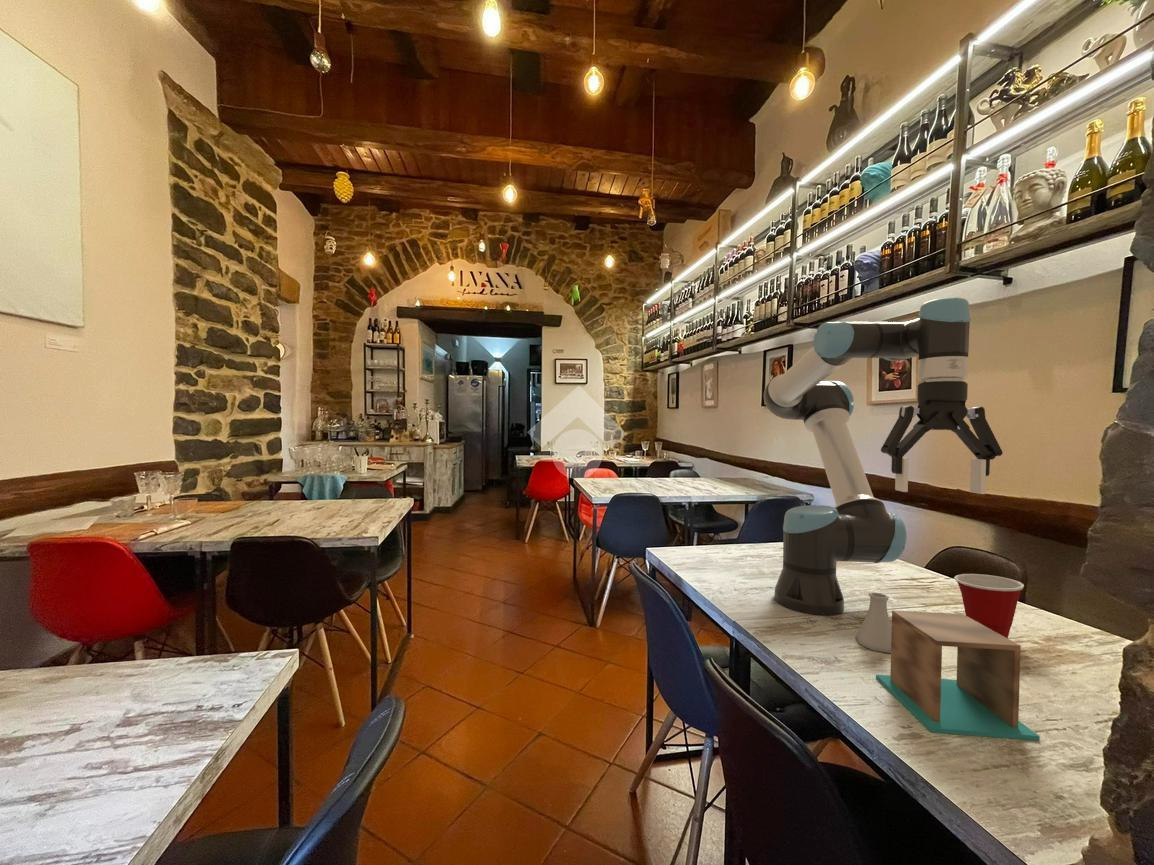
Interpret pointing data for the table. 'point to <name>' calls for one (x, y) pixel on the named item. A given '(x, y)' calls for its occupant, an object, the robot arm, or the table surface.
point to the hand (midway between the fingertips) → (939, 492)
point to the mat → (960, 713)
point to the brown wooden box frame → (980, 662)
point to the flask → (876, 625)
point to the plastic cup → (990, 600)
